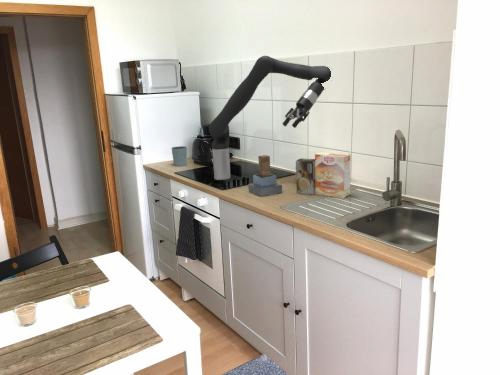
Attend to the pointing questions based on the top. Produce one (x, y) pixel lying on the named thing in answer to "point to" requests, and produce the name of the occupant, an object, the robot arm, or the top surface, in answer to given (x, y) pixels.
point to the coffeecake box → (332, 174)
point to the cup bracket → (264, 186)
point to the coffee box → (305, 176)
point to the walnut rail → (264, 166)
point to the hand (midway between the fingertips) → (288, 126)
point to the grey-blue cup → (179, 155)
